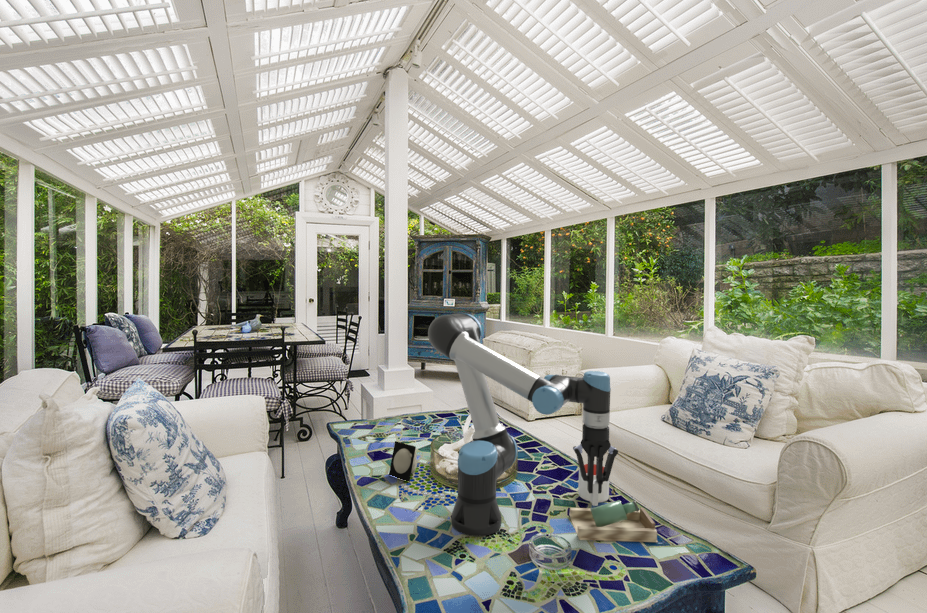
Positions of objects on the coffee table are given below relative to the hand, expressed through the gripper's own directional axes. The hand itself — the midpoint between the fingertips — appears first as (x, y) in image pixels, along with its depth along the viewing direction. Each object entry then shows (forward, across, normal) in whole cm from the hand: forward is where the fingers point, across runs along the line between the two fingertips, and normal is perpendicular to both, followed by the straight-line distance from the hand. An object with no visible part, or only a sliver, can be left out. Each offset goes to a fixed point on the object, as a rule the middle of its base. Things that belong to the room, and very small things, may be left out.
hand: (594, 503), depth 132 cm
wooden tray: (+8, +5, 0) cm, 10 cm away
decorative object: (+8, -61, +34) cm, 70 cm away
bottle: (+5, 0, 0) cm, 5 cm away
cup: (+8, +5, +20) cm, 22 cm away
